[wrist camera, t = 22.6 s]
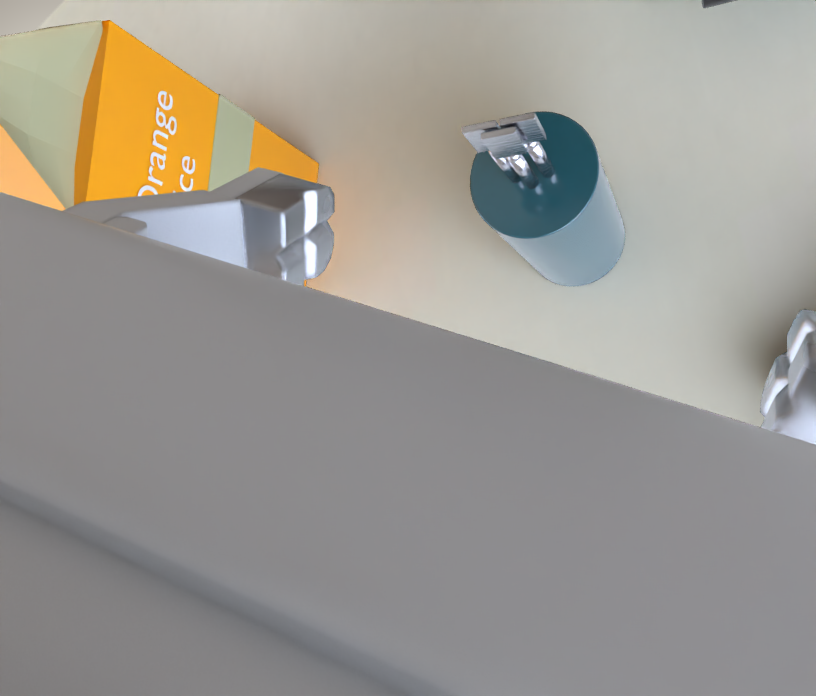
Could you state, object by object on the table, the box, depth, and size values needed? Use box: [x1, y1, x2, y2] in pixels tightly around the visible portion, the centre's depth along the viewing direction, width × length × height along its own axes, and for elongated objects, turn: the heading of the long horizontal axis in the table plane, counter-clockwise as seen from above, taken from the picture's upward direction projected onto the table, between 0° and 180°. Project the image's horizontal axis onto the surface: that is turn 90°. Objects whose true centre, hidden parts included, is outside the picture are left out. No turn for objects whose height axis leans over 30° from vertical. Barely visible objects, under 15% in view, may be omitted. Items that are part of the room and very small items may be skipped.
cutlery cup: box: [462, 112, 625, 286], centre depth 26 cm, size 4×4×13 cm
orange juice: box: [0, 20, 319, 286], centre depth 30 cm, size 8×9×20 cm
